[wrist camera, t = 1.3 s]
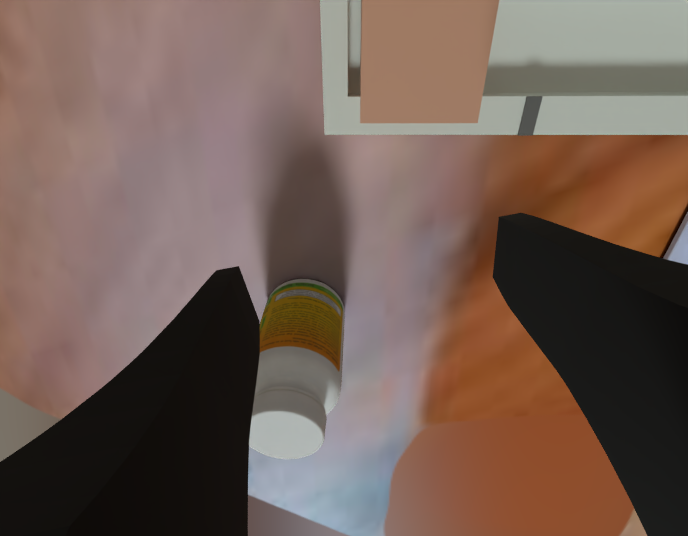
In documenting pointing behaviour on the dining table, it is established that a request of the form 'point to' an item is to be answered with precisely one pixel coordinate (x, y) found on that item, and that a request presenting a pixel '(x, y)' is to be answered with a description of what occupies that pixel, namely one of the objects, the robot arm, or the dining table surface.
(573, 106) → the beam
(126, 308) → the dining table surface
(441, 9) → the rider
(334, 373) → the supplement bottle
